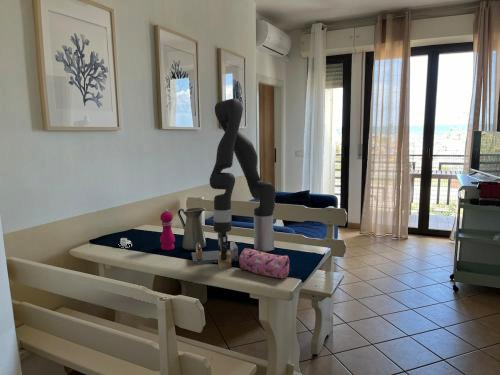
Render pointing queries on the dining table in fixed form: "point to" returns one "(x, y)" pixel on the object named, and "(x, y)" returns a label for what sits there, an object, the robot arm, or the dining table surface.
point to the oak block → (226, 262)
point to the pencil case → (264, 263)
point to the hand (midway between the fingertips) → (222, 256)
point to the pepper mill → (167, 231)
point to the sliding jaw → (198, 251)
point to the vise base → (215, 255)
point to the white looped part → (125, 242)
